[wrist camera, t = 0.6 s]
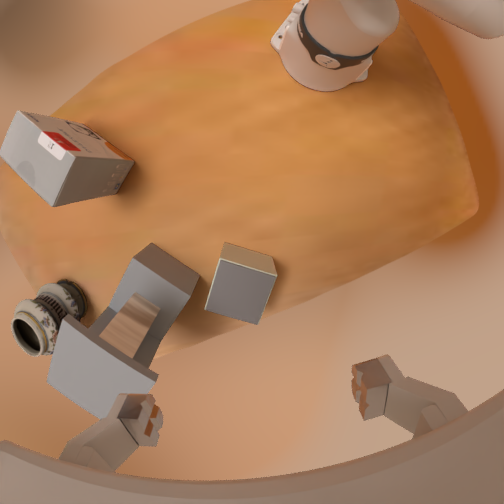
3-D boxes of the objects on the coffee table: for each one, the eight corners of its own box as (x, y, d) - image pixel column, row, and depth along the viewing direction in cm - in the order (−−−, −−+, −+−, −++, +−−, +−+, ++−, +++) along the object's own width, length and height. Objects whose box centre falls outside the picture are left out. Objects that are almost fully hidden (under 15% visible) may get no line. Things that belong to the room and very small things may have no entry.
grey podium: (151, 242, 51) (62, 319, 22) (200, 275, 53) (155, 382, 24) (125, 290, 53) (46, 382, 25) (170, 319, 55) (120, 431, 27)
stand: (224, 242, 51) (219, 258, 42) (272, 256, 52) (277, 276, 42) (211, 286, 53) (203, 310, 44) (256, 299, 54) (258, 326, 45)
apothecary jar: (89, 279, 53) (41, 319, 36) (93, 327, 56) (55, 373, 39) (48, 269, 52) (-2, 301, 35) (54, 315, 55) (12, 354, 38)
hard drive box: (136, 160, 47) (77, 159, 28) (115, 195, 48) (52, 212, 29) (82, 122, 44) (16, 109, 25) (64, 155, 46) (-4, 156, 26)
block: (135, 291, 43) (98, 336, 30) (160, 308, 44) (132, 359, 31) (124, 312, 44) (88, 360, 31) (148, 328, 45) (119, 380, 32)
